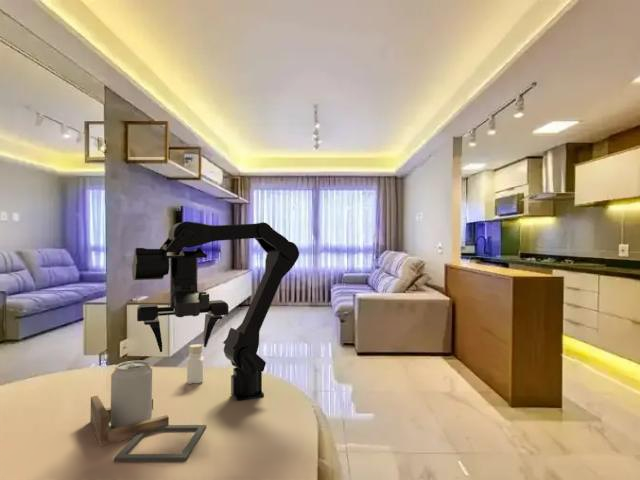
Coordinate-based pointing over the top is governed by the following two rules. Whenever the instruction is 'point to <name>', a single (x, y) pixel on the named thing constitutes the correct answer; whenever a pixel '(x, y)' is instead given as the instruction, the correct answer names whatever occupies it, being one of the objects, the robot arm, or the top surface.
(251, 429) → the top surface
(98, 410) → the dock
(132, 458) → the holster frame
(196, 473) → the top surface
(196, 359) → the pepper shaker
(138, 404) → the can
